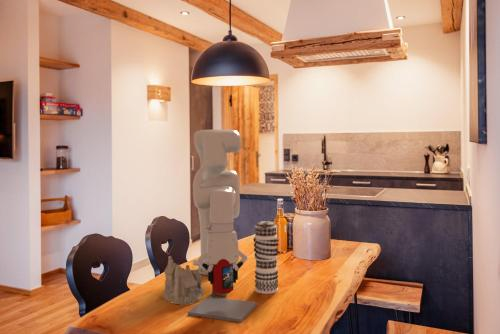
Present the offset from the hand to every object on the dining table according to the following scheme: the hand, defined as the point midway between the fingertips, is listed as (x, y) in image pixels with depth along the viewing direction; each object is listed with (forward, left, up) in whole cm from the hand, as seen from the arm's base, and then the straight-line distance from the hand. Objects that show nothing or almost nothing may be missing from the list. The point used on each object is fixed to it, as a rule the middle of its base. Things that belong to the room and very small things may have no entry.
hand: (223, 282), depth 144 cm
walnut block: (-7, +13, -9) cm, 18 cm away
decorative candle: (+7, +23, -9) cm, 26 cm away
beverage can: (0, 0, -3) cm, 3 cm away
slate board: (0, 0, -9) cm, 9 cm away
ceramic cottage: (-18, +8, -10) cm, 22 cm away
